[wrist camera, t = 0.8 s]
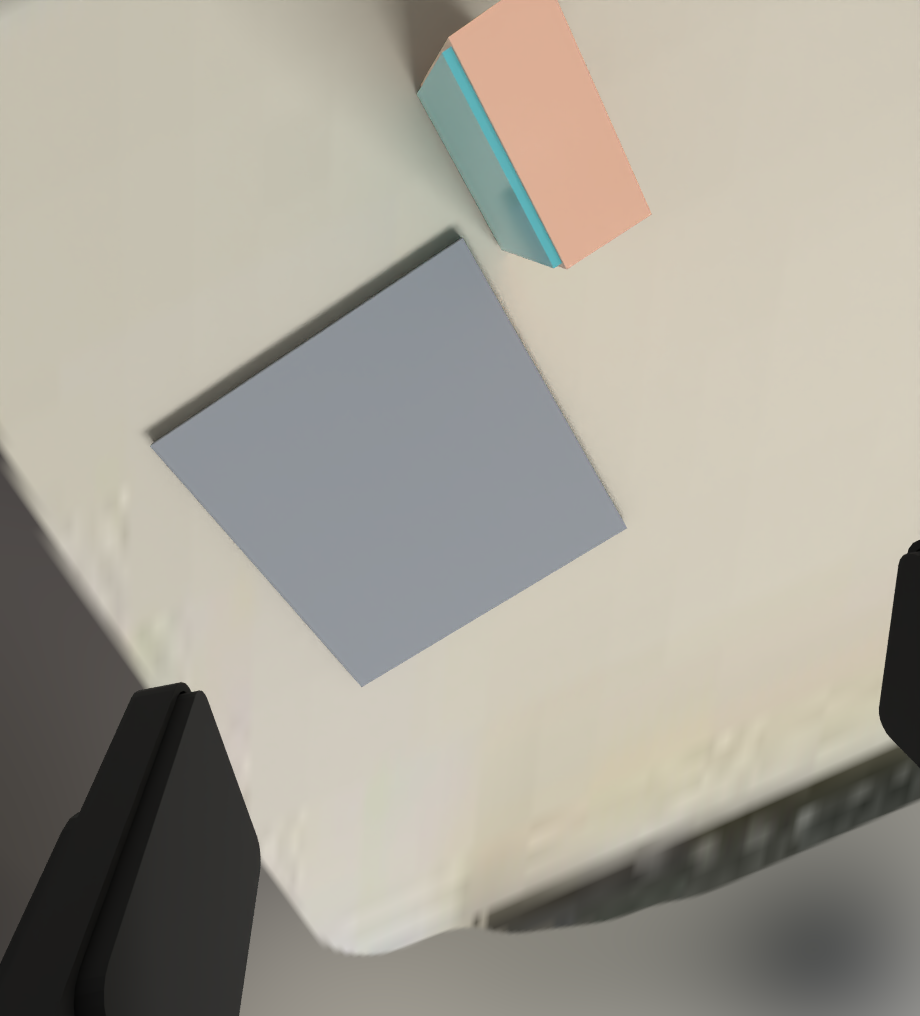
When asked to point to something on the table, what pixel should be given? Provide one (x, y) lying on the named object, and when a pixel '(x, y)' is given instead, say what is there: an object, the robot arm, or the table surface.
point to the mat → (398, 469)
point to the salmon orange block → (532, 134)
